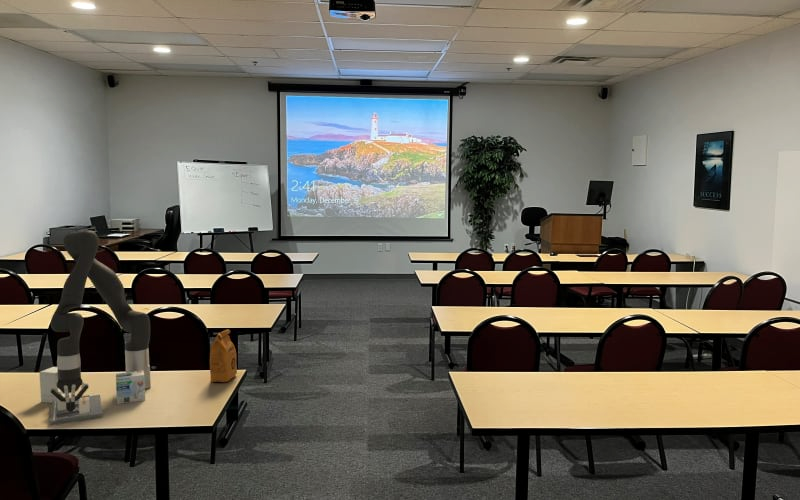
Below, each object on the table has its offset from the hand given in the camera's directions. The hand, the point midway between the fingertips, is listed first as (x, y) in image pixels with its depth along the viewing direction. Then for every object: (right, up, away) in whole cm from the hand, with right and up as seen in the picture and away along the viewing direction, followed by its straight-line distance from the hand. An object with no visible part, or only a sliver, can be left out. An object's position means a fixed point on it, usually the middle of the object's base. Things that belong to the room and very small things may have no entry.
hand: (70, 410), depth 221 cm
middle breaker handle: (-6, 0, +5) cm, 8 cm away
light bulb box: (+13, -1, +20) cm, 24 cm away
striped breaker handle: (+4, -1, +2) cm, 5 cm away
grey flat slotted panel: (-2, -2, +8) cm, 8 cm away
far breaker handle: (-9, 0, +12) cm, 15 cm away
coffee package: (+44, +2, +46) cm, 63 cm away
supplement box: (-17, -1, +19) cm, 26 cm away
